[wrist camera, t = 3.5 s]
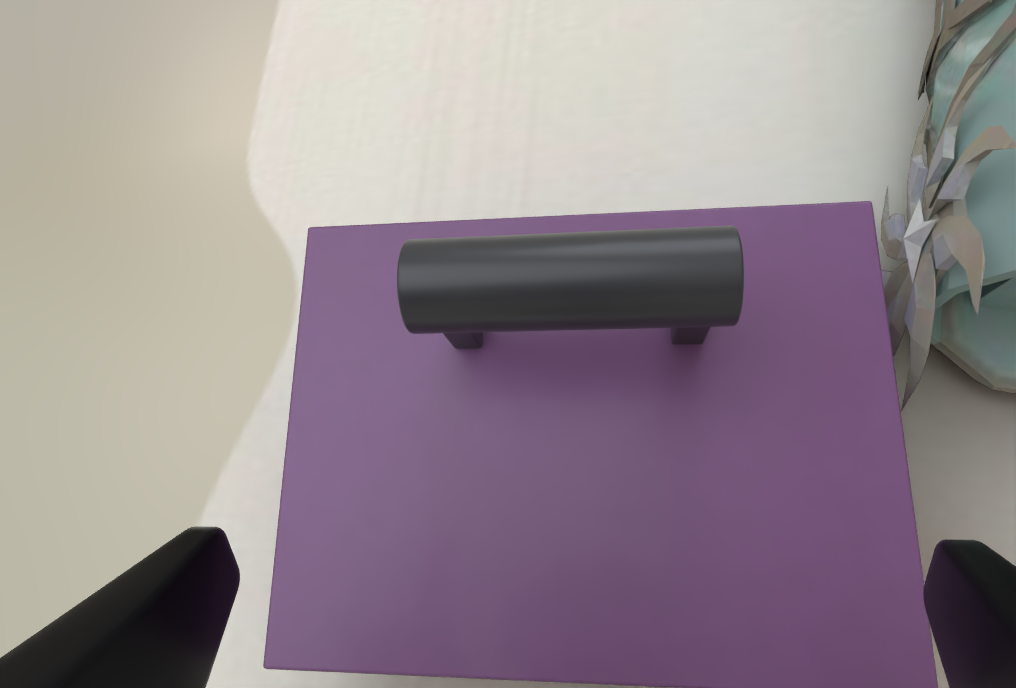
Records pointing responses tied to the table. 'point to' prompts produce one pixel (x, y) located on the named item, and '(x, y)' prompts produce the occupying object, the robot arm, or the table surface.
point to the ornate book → (961, 202)
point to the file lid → (600, 455)
